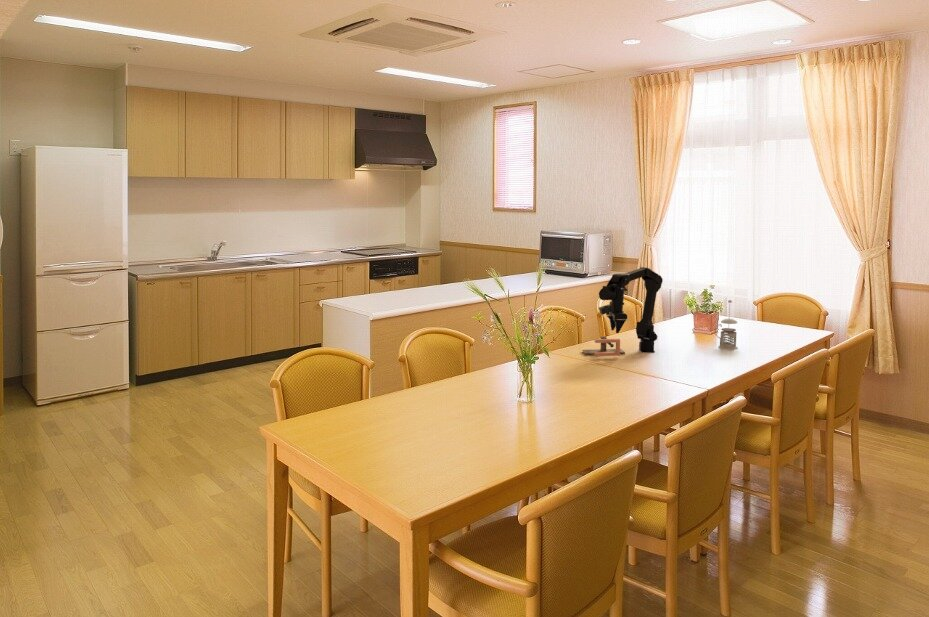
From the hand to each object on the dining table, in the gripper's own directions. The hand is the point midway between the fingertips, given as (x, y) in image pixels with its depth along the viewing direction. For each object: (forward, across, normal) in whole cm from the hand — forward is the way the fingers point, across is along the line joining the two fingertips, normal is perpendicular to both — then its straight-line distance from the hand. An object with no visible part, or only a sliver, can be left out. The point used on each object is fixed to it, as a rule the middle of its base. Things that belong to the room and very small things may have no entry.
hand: (614, 331), depth 344 cm
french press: (+8, -18, +64) cm, 67 cm away
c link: (+12, 0, -3) cm, 12 cm away
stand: (+13, -4, -2) cm, 14 cm away
